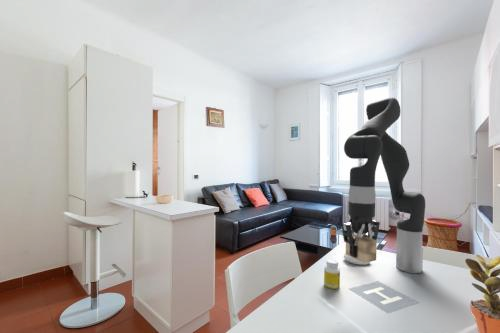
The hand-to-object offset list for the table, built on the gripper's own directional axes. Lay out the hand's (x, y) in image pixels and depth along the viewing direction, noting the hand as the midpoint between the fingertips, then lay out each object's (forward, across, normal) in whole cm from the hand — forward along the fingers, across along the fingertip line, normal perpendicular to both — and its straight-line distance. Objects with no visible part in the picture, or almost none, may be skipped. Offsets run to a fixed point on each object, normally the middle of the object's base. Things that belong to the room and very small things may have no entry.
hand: (360, 255), depth 73 cm
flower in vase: (+17, -29, -26) cm, 42 cm away
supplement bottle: (+17, -1, -13) cm, 21 cm away
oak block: (+1, 0, 0) cm, 1 cm away
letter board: (+17, -13, -2) cm, 21 cm away
